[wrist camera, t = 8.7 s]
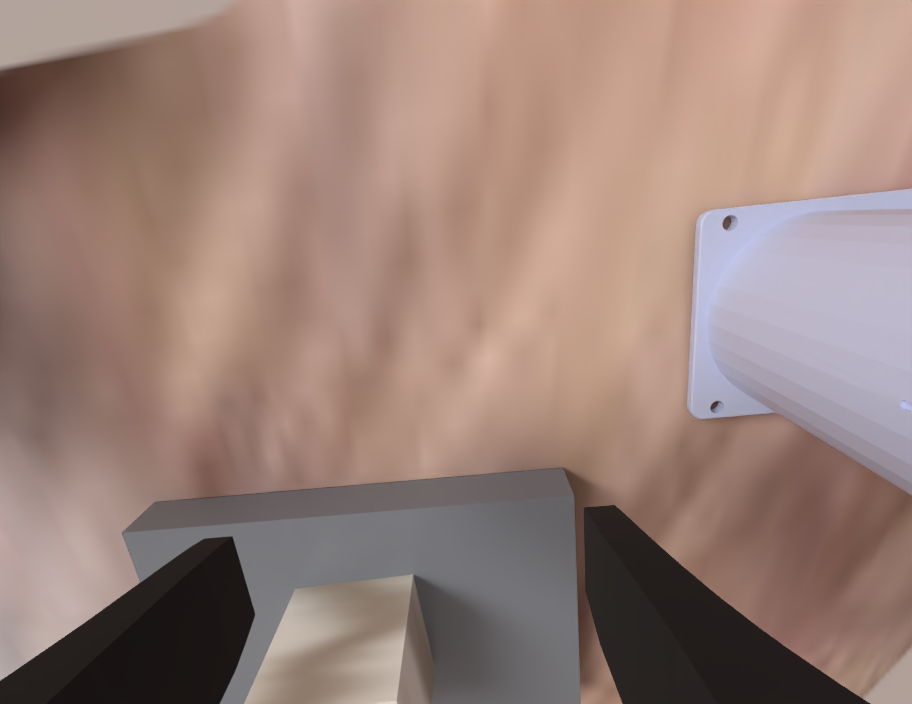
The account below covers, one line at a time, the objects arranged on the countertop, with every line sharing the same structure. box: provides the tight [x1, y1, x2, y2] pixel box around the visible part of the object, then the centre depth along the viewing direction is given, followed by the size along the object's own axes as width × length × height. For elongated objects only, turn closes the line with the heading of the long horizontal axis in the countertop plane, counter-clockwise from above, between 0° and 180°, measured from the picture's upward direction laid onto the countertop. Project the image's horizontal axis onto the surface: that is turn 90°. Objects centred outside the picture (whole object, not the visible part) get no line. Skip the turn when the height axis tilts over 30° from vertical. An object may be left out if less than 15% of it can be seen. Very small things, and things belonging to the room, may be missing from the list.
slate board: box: [122, 468, 581, 704], centre depth 20 cm, size 18×12×2 cm, turn 96°
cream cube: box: [244, 574, 434, 704], centre depth 17 cm, size 5×5×5 cm
